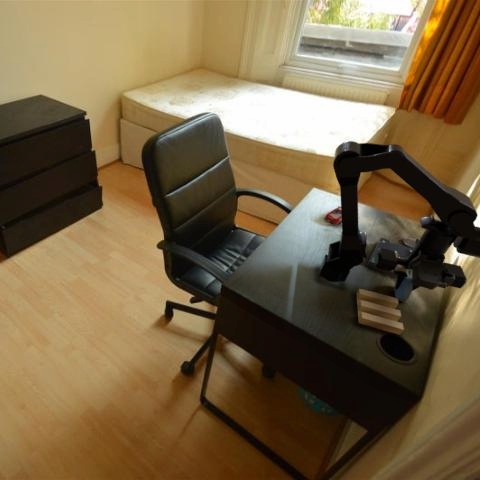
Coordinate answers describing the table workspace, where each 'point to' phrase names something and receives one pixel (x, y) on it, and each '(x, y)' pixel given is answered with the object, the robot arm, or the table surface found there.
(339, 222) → the race car
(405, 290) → the blue disc
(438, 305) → the table surface
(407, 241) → the decorative disc
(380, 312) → the rack
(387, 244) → the disk drive
